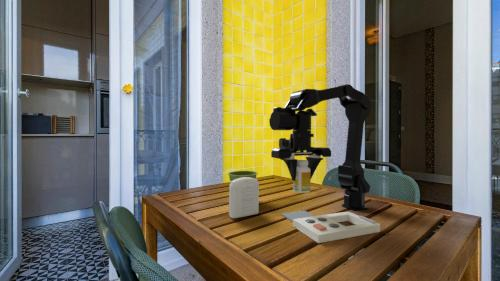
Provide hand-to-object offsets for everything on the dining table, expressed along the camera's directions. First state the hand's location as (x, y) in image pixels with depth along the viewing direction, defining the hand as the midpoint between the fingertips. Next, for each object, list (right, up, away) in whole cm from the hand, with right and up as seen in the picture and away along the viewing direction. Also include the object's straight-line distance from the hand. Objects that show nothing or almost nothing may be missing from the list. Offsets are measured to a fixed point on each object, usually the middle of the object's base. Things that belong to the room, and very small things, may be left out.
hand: (301, 180), depth 78 cm
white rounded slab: (-18, -12, +3) cm, 22 cm away
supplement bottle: (0, -4, 0) cm, 4 cm away
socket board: (+8, -12, -9) cm, 17 cm away
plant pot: (-19, -12, +20) cm, 30 cm away
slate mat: (0, -12, +1) cm, 12 cm away
